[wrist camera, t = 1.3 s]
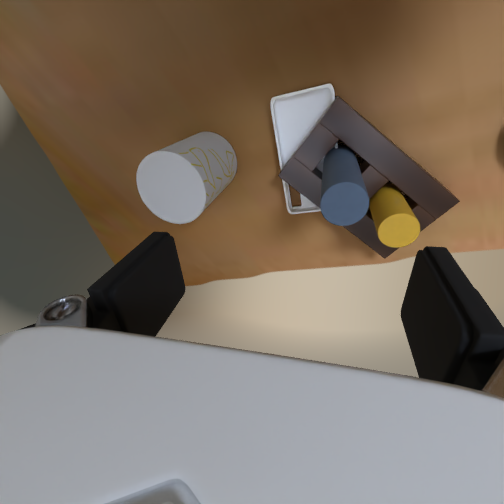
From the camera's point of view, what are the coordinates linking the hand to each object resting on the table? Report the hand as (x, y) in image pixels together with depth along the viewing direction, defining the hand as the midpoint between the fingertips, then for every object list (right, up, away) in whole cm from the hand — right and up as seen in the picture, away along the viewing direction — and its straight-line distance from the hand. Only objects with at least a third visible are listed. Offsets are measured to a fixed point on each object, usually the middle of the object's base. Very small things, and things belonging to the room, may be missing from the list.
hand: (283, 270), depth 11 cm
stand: (+13, +10, +26) cm, 31 cm away
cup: (-7, +14, +29) cm, 33 cm away
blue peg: (+10, +13, +25) cm, 30 cm away
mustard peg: (+16, +8, +26) cm, 32 cm away
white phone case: (+6, +13, +24) cm, 28 cm away
